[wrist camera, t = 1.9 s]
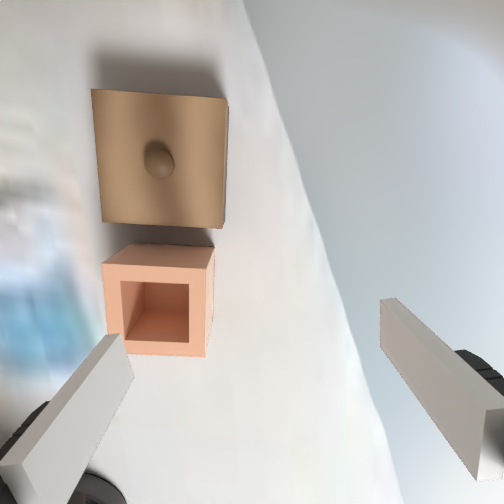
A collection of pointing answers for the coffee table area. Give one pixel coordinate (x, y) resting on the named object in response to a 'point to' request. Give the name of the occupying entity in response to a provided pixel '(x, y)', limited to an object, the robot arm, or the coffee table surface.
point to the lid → (161, 158)
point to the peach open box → (160, 298)
